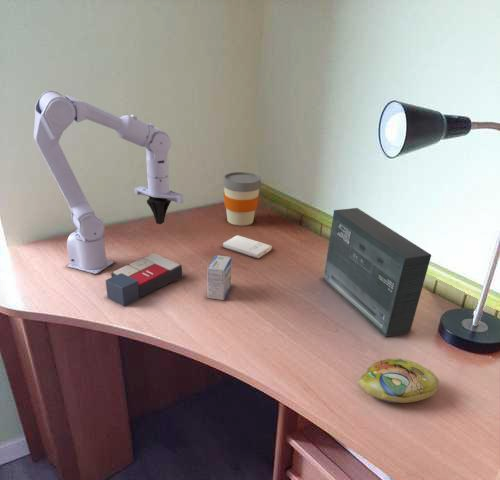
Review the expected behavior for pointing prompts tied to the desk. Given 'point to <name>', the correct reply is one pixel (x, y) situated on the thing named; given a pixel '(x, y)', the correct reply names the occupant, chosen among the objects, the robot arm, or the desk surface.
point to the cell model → (399, 381)
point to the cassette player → (375, 270)
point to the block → (122, 289)
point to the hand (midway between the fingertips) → (160, 222)
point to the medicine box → (219, 277)
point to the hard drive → (247, 246)
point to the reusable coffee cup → (241, 197)
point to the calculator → (151, 273)
